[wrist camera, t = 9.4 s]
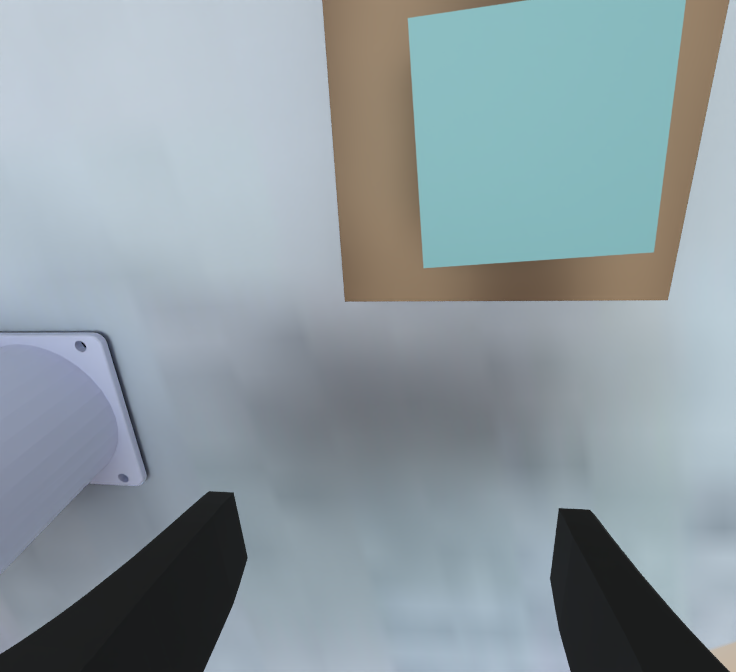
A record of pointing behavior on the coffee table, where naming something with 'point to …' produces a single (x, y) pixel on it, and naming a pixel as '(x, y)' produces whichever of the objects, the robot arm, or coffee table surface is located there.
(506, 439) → the coffee table surface
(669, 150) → the walnut block
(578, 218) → the teal block
